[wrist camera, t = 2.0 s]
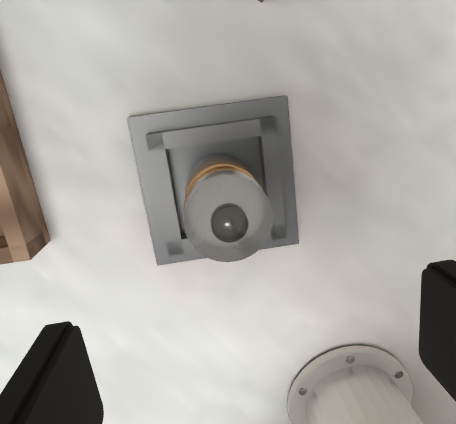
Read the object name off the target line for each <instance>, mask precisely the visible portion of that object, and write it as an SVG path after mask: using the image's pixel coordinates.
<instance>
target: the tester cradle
mask: <svg viewBox="0 0 456 424" xmlns="http://www.w3.org/2000/svg"><path fill="white" fill-rule="evenodd" d="M127 122H128V126H129V131H130V136H131V141H132V146H133V151H134V156H135V160H136V165H137V170H138V175H139V180H140V185H141V189H142V194H143V199H144V204H145V209H146V214H147V219H148V223H149V228H150V233H151V238H152V243H153V248H154V252H155V257H156V262H157V265H164V264H170V263H176V262H183V261H189V260H196V259H202V258H207V257H205V256H204V255H202V254H201V253H199V252H198V251H197V250H196V249H195V248H194V247H193V246H192V245H191V243H190V242H189V240H188V238H187V236H186V233H185V230H184V223H183V217H184V199H185V190H186V185H187V179H188V175H189V173H190V170H191V169H192V167H193V166H194V165H195V163H196V162H197V161H199V160H200V159H201V158H203V157H205V156H207V155H210V154H215V153H223V154H228V155H231V156H233V157H235V158H236V159H238V160H239V161H240V162H241V163H242V164H243V165H244V166H245V167H246V168H247V169H248V171H249V172H250V173H251V174H252V176H253V177H254V178H255V179H256V181H257V182H258V183H259V185H260V186H261V188H262V189H263V191H264V193H265V194H266V196H267V197H268V199H269V201H270V204H271V207H272V211H273V225H272V229H271V232H270V235H269V237H268V239H267V240H266V242H265V243H264V245H263V246H262V247H261V248H260V249H267V248H273V247H280V246H286V245H293V244H299V239H298V226H297V214H296V201H295V188H294V175H293V162H292V149H291V136H290V123H289V111H288V98H287V96H280V97H272V98H265V99H258V100H250V101H243V102H236V103H228V104H221V105H214V106H207V107H199V108H192V109H185V110H177V111H170V112H163V113H155V114H148V115H141V116H134V117H128V118H127ZM260 249H259V250H260Z"/></svg>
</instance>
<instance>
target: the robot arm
mask: <svg viewBox="0 0 456 424" xmlns="http://www.w3.org/2000/svg"><path fill="white" fill-rule="evenodd" d="M419 355H420V358H421V360H422V362H423V364H424V365H425V366H426V368H427V369H428V370H429V371H430V372H431V373H432V375H433V376H434V377H435V378H436V379H437V380H438V381H439V383H440V384H441V385H442V386H443V387H444V388H445V390H446V391H447V392H448V393H449V394H450V395H451V397H452V398H453V399H454V400H455V401H456V261H454V260H445V261H439V262H433V263H430V264H428V266H427V269H424V270H423V272H422V279H421V305H420V331H419ZM412 397H413V389H412V383H411V380H410V377H409V375H408V373H407V372H406V370H405V369H404V368H403V366H402V365H401V364H400V363H399V362H398V360H397V359H396V358H394V357H393V356H392V355H390V354H389V353H387V352H385V351H383V350H380V349H378V348H374V347H369V346H348V347H342V348H338V349H335V350H332V351H329V352H327V353H325V354H323V355H321V356H319V357H318V358H316V359H315V360H313V361H312V362H310V363H309V364H308V365H307V366H306V367H305V368H304V369H303V370H302V371H301V372H300V373H299V375H298V376H297V377H296V379H295V380H294V382H293V384H292V386H291V389H290V391H289V396H288V400H287V410H288V414H289V419H290V422H291V424H424V423H423V422H422V420H421V419H420V418H419V416H418V415H417V413H416V412H415V410H414V409H413V408H412V406H411V404H412ZM103 415H104V411H103V404H102V401H101V397H100V394H99V391H98V387H97V384H96V381H95V377H94V374H93V371H92V367H91V364H90V360H89V357H88V354H87V350H86V347H85V344H84V340H83V337H82V334H81V330H80V328H79V327H78V326H73V325H72V323H71V322H69V321H68V322H62V323H55V324H49V325H46V326H45V327H44V328H43V329H42V331H41V332H40V334H39V336H38V337H37V339H36V340H35V342H34V343H33V345H32V346H31V348H30V349H29V351H28V353H27V354H26V356H25V357H24V359H23V360H22V362H21V363H20V365H19V366H18V368H17V370H16V371H15V373H14V374H13V376H12V377H11V379H10V380H9V382H8V383H7V385H6V386H5V388H4V390H3V391H2V393H1V394H0V424H102V422H103Z"/></svg>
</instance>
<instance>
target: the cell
mask: <svg viewBox="0 0 456 424" xmlns="http://www.w3.org/2000/svg"><path fill="white" fill-rule="evenodd" d="M183 223H184V230H185V233H186V236H187V238H188V240H189V242H190V243H191V245H192V246H193V247H194V248H195V249H196V250H197V251H198V252H199V253H201V254H202V255H204V256H205V257H207V258H210V259H212V260H216V261H222V262H232V261H238V260H242V259H244V258H247V257H249V256H251V255H252V254H254V253H255V252H256V251H258V250H259V249H260V248H261V247H262V246H263V245H264V243H265V242H266V240H267V239H268V237H269V235H270V232H271V229H272V225H273V211H272V207H271V204H270V201H269V199H268V197H267V196H266V194H265V193H264V191H263V189H262V188H261V186H260V185H259V183H258V182H257V181H256V179H255V178H254V177H253V176H252V174H251V173H250V172H249V171H248V169H247V168H246V167H245V166H244V165H243V164H242V163H241V162H240V161H239V160H238V159H236V158H235V157H233V156H231V155H228V154H223V153H215V154H210V155H207V156H205V157H203V158H201V159H200V160H199V161H197V162H196V163H195V165H194V166H193V167H192V169H191V170H190V173H189V175H188V179H187V185H186V190H185V199H184V217H183Z"/></svg>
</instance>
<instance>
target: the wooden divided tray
mask: <svg viewBox="0 0 456 424" xmlns="http://www.w3.org/2000/svg"><path fill="white" fill-rule="evenodd" d="M49 241H50V238H49V234H48V231H47V228H46V224H45V221H44V217H43V214H42V211H41V207H40V204H39V201H38V197H37V194H36V190H35V187H34V184H33V180H32V177H31V174H30V170H29V167H28V163H27V160H26V157H25V153H24V150H23V146H22V143H21V140H20V136H19V133H18V130H17V126H16V123H15V119H14V116H13V113H12V109H11V106H10V102H9V99H8V96H7V92H6V89H5V86H4V82H3V79H2V75H1V72H0V264H6V263H13V262H19V261H26V260H31V259H32V258H33V257H34V256H35V255H36V254H37V253H38V252H39V251H40V250H41V249H42V248H43V247H44V246H45V245H46V244H47V243H48V242H49Z"/></svg>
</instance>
